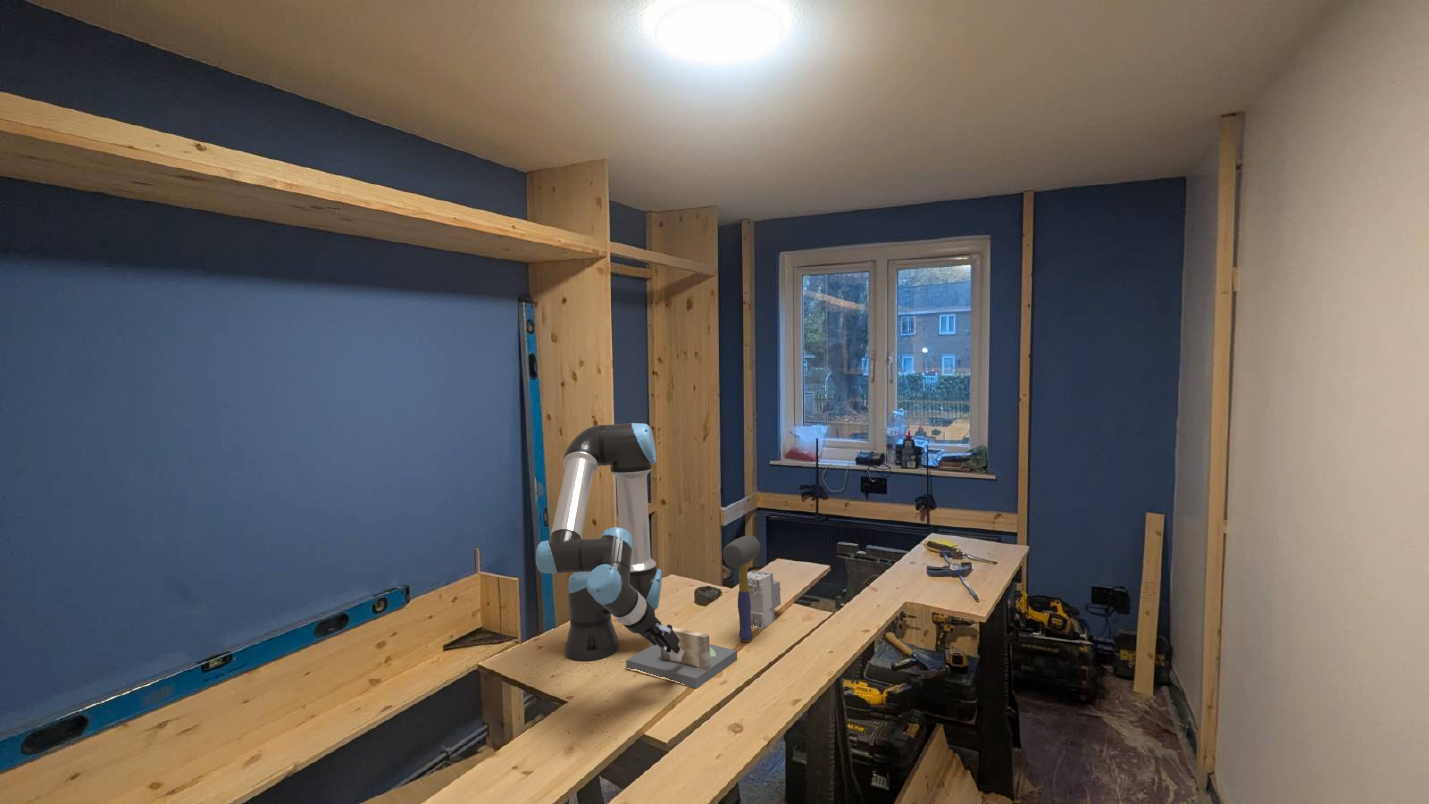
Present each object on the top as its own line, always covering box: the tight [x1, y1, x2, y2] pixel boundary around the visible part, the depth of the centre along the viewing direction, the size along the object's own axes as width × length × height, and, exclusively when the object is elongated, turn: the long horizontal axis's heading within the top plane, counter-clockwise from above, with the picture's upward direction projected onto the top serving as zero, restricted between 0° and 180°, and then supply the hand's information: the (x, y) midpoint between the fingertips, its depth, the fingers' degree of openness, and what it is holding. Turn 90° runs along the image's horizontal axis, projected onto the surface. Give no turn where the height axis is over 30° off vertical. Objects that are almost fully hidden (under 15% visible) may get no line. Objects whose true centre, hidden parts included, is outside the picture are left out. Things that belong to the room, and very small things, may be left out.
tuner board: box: [625, 643, 738, 689], centre depth 171 cm, size 23×19×2 cm
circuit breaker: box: [747, 570, 782, 630], centre depth 201 cm, size 8×14×15 cm, turn 148°
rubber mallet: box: [722, 535, 761, 643], centre depth 185 cm, size 12×8×30 cm, turn 151°
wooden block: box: [661, 626, 710, 669], centre depth 166 cm, size 15×4×8 cm, turn 56°
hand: (680, 655), depth 163 cm, fingers closed
